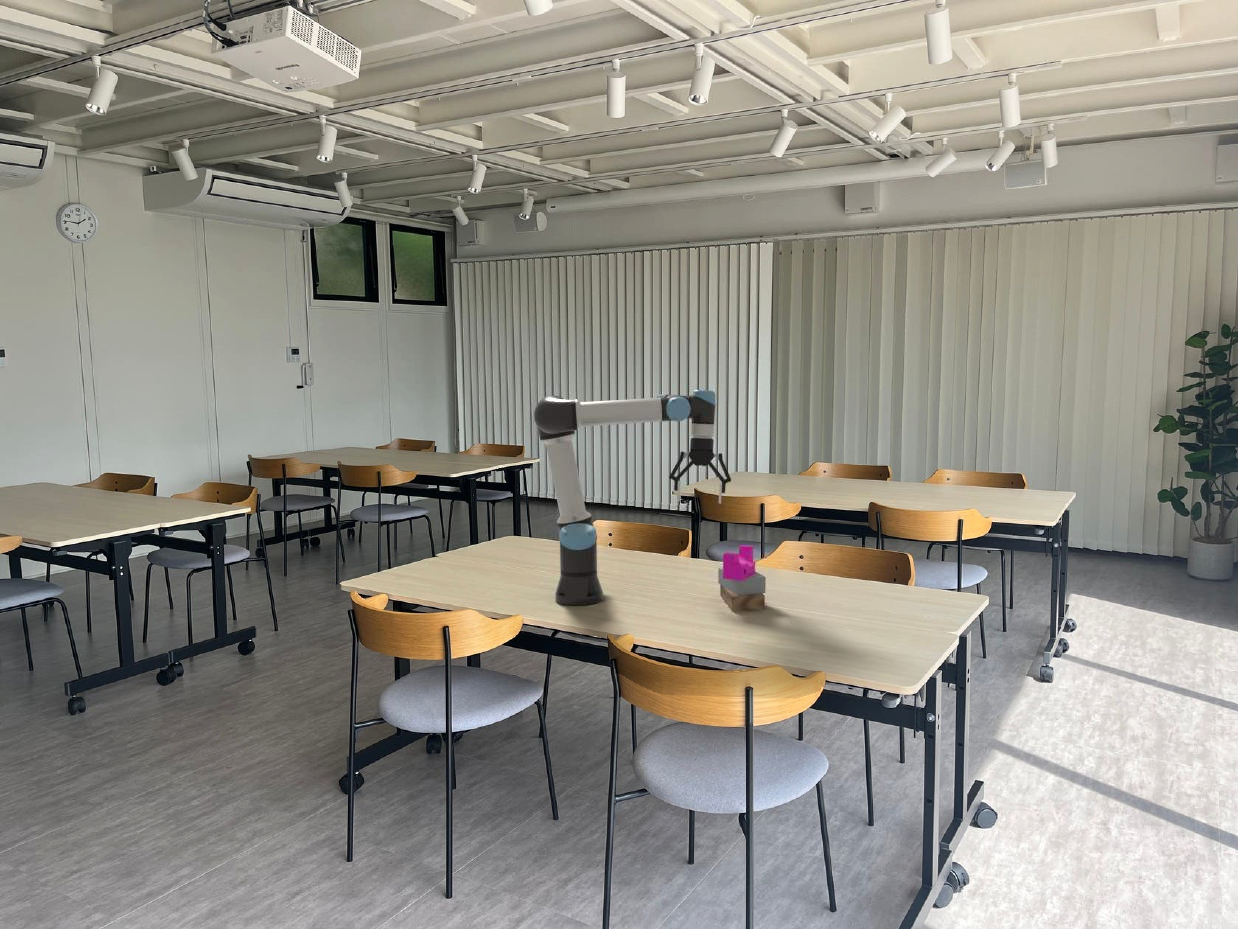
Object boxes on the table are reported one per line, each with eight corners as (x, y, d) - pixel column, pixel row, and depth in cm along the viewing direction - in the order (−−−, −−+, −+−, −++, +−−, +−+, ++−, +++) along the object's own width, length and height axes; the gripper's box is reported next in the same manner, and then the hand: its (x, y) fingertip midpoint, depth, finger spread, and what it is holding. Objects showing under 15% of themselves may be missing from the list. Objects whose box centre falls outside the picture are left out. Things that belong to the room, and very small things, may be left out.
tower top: (737, 595, 275) (737, 579, 275) (718, 583, 291) (718, 567, 290) (765, 593, 278) (765, 576, 277) (744, 581, 293) (744, 565, 292)
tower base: (731, 613, 274) (731, 596, 274) (720, 597, 292) (720, 582, 291) (764, 612, 275) (764, 595, 274) (751, 596, 293) (751, 581, 292)
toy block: (742, 580, 273) (742, 556, 272) (723, 578, 276) (723, 554, 275) (760, 570, 286) (760, 546, 285) (742, 568, 289) (741, 544, 288)
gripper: (740, 439, 301) (737, 503, 302) (664, 435, 304) (661, 499, 305) (740, 439, 294) (737, 505, 295) (663, 435, 296) (660, 501, 297)
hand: (699, 502), depth 300 cm, fingers open, 13 cm apart
